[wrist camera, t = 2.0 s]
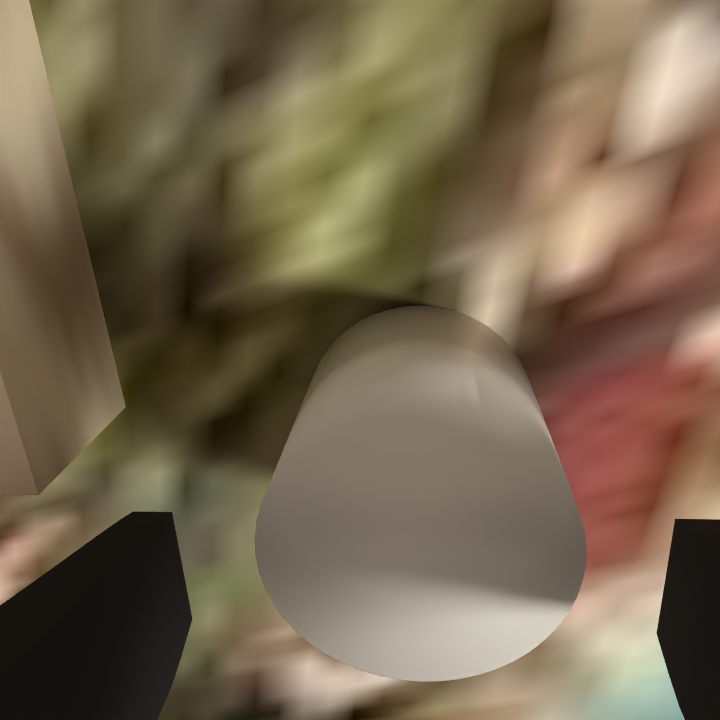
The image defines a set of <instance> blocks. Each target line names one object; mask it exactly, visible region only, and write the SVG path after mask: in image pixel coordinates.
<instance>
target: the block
mask: <svg viewBox="0 0 720 720" xmlns="http://www.w3.org/2000/svg"><path fill="white" fill-rule="evenodd" d="M125 407H126V406H125V402H124V397H123V393H122V389H121V385H120V381H119V376H118V372H117V368H116V364H115V360H114V355H113V351H112V347H111V343H110V339H109V335H108V330H107V326H106V322H105V318H104V314H103V309H102V305H101V301H100V297H99V293H98V288H97V284H96V280H95V276H94V272H93V267H92V263H91V259H90V255H89V251H88V246H87V242H86V238H85V234H84V230H83V225H82V221H81V217H80V213H79V209H78V205H77V200H76V196H75V192H74V188H73V184H72V179H71V175H70V171H69V167H68V163H67V158H66V154H65V150H64V146H63V142H62V137H61V133H60V129H59V125H58V121H57V116H56V112H55V108H54V104H53V100H52V95H51V91H50V87H49V83H48V79H47V74H46V70H45V66H44V62H43V58H42V54H41V49H40V45H39V41H38V37H37V33H36V28H35V24H34V20H33V16H32V12H31V7H30V3H29V0H0V496H17V495H39V494H40V493H41V492H42V491H43V490H44V489H45V488H46V487H47V486H48V485H49V484H50V483H51V482H52V481H53V480H54V479H55V478H56V477H57V476H58V475H59V474H60V473H61V472H62V471H63V470H64V469H65V468H66V467H67V466H68V465H69V464H70V463H71V462H72V461H73V460H74V459H75V458H76V457H77V456H78V455H79V454H80V453H81V452H82V451H83V450H84V449H85V448H86V447H87V446H88V445H89V444H90V443H91V442H92V441H93V440H94V439H95V438H96V437H97V436H98V435H99V434H100V433H101V432H102V430H103V429H104V428H105V427H106V426H107V425H108V424H109V423H110V422H111V421H112V420H113V419H114V418H115V417H116V416H117V415H118V414H119V413H120V412H121V411H122V410H123V409H124V408H125Z"/></svg>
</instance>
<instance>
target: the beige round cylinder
mask: <svg viewBox="0 0 720 720" xmlns="http://www.w3.org/2000/svg"><path fill="white" fill-rule="evenodd" d="M255 551H256V559H257V564H258V569H259V573H260V576H261V578H262V581H263V584H264V586H265V589H266V591H267V593H268V595H269V596H270V598H271V600H272V602H273V604H274V605H275V607H276V608H277V609H278V611H279V612H280V614H281V615H282V616H283V618H284V619H285V620H286V621H287V622H288V623H289V624H290V625H291V627H292V628H293V629H294V630H295V631H296V632H297V633H298V634H300V635H301V636H302V637H303V638H304V639H306V640H307V641H308V642H309V643H310V644H312V645H313V646H315V647H316V648H318V649H319V650H321V651H322V652H324V653H325V654H327V655H328V656H330V657H332V658H334V659H336V660H338V661H340V662H342V663H344V664H346V665H349V666H351V667H354V668H356V669H359V670H361V671H365V672H368V673H372V674H375V675H378V676H383V677H388V678H394V679H399V680H410V681H445V680H454V679H461V678H466V677H471V676H475V675H479V674H482V673H485V672H489V671H492V670H495V669H497V668H500V667H502V666H504V665H506V664H509V663H511V662H513V661H515V660H517V659H518V658H520V657H522V656H523V655H525V654H527V653H528V652H530V651H531V650H533V649H534V648H535V647H536V646H538V645H539V644H540V643H542V642H543V641H544V640H545V639H546V638H547V637H548V636H549V635H550V634H551V633H552V632H553V631H554V630H555V629H556V628H557V627H558V626H559V624H560V623H561V622H562V621H563V619H564V618H565V617H566V615H567V614H568V612H569V611H570V609H571V607H572V605H573V603H574V601H575V600H576V598H577V595H578V592H579V590H580V587H581V584H582V581H583V577H584V571H585V566H586V539H585V532H584V526H583V523H582V519H581V516H580V513H579V510H578V507H577V505H576V502H575V499H574V497H573V494H572V491H571V489H570V486H569V484H568V481H567V478H566V476H565V473H564V471H563V468H562V465H561V463H560V460H559V458H558V455H557V452H556V450H555V447H554V444H553V442H552V439H551V437H550V434H549V431H548V429H547V426H546V424H545V421H544V418H543V416H542V413H541V410H540V408H539V405H538V403H537V400H536V397H535V395H534V392H533V390H532V387H531V384H530V382H529V379H528V376H527V374H526V372H525V370H524V368H523V366H522V364H521V362H520V360H519V358H518V357H517V355H516V354H515V352H514V351H513V350H512V348H511V347H510V346H509V345H508V344H507V343H506V342H505V341H504V339H503V338H502V337H501V336H499V335H498V334H497V333H496V332H494V331H493V330H492V329H491V328H489V327H488V326H486V325H485V324H483V323H481V322H480V321H478V320H476V319H474V318H472V317H470V316H467V315H465V314H463V313H459V312H456V311H453V310H450V309H445V308H439V307H433V306H408V307H399V308H395V309H390V310H386V311H383V312H380V313H377V314H374V315H371V316H369V317H367V318H365V319H363V320H361V321H359V322H358V323H356V324H355V325H353V326H352V327H350V328H349V329H347V330H346V331H345V332H344V333H343V334H342V335H341V336H339V337H338V338H337V339H336V340H335V341H334V342H333V344H332V345H331V346H330V347H329V348H328V350H327V351H326V352H325V354H324V356H323V357H322V359H321V360H320V362H319V364H318V366H317V369H316V371H315V373H314V375H313V378H312V380H311V383H310V385H309V388H308V390H307V393H306V395H305V398H304V400H303V402H302V405H301V407H300V410H299V412H298V415H297V417H296V420H295V422H294V425H293V427H292V430H291V432H290V434H289V437H288V439H287V442H286V444H285V447H284V449H283V452H282V454H281V457H280V459H279V461H278V464H277V466H276V469H275V471H274V474H273V476H272V479H271V481H270V484H269V486H268V489H267V491H266V493H265V496H264V498H263V501H262V503H261V507H260V510H259V514H258V518H257V522H256V532H255Z"/></svg>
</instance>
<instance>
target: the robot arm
mask: <svg viewBox="0 0 720 720" xmlns="http://www.w3.org/2000/svg"><path fill="white" fill-rule="evenodd" d="M191 621H192V615H191V610H190V604H189V599H188V594H187V589H186V583H185V578H184V573H183V568H182V562H181V557H180V552H179V547H178V541H177V536H176V531H175V526H174V520H173V515H172V512H132V513H130V514H129V515H127V516H125V517H124V518H122V519H121V520H119V521H118V522H116V523H115V524H113V525H112V526H110V527H109V528H108V529H106V530H105V531H103V532H102V533H101V534H99V535H98V536H96V537H95V538H94V539H92V540H91V541H89V542H88V543H87V544H85V545H84V546H83V547H81V548H80V549H78V550H77V551H76V552H74V553H73V554H72V555H70V556H69V557H67V558H66V559H65V560H63V561H62V562H61V563H59V564H58V565H56V566H55V567H54V568H52V569H51V570H49V571H48V572H47V573H45V574H44V575H42V576H41V577H40V578H38V579H37V580H35V581H34V582H33V583H31V584H30V585H28V586H27V587H26V588H24V589H23V590H21V591H20V592H19V593H17V594H16V595H15V596H13V597H12V598H10V599H9V600H7V601H6V602H5V603H3V604H2V605H0V720H157V719H158V716H159V714H160V712H161V709H162V707H163V705H164V703H165V700H166V698H167V696H168V693H169V691H170V689H171V686H172V683H173V680H174V677H175V674H176V671H177V668H178V665H179V662H180V659H181V655H182V652H183V649H184V645H185V642H186V638H187V635H188V632H189V628H190V625H191ZM657 636H658V639H659V643H660V646H661V649H662V653H663V656H664V659H665V663H666V666H667V670H668V673H669V676H670V679H671V682H672V685H673V688H674V691H675V694H676V697H677V701H678V704H679V707H680V709H681V711H682V714H683V716H684V718H685V720H720V520H711V519H675V524H674V530H673V536H672V542H671V548H670V554H669V561H668V567H667V573H666V579H665V585H664V591H663V598H662V604H661V610H660V616H659V622H658V628H657Z"/></svg>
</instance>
